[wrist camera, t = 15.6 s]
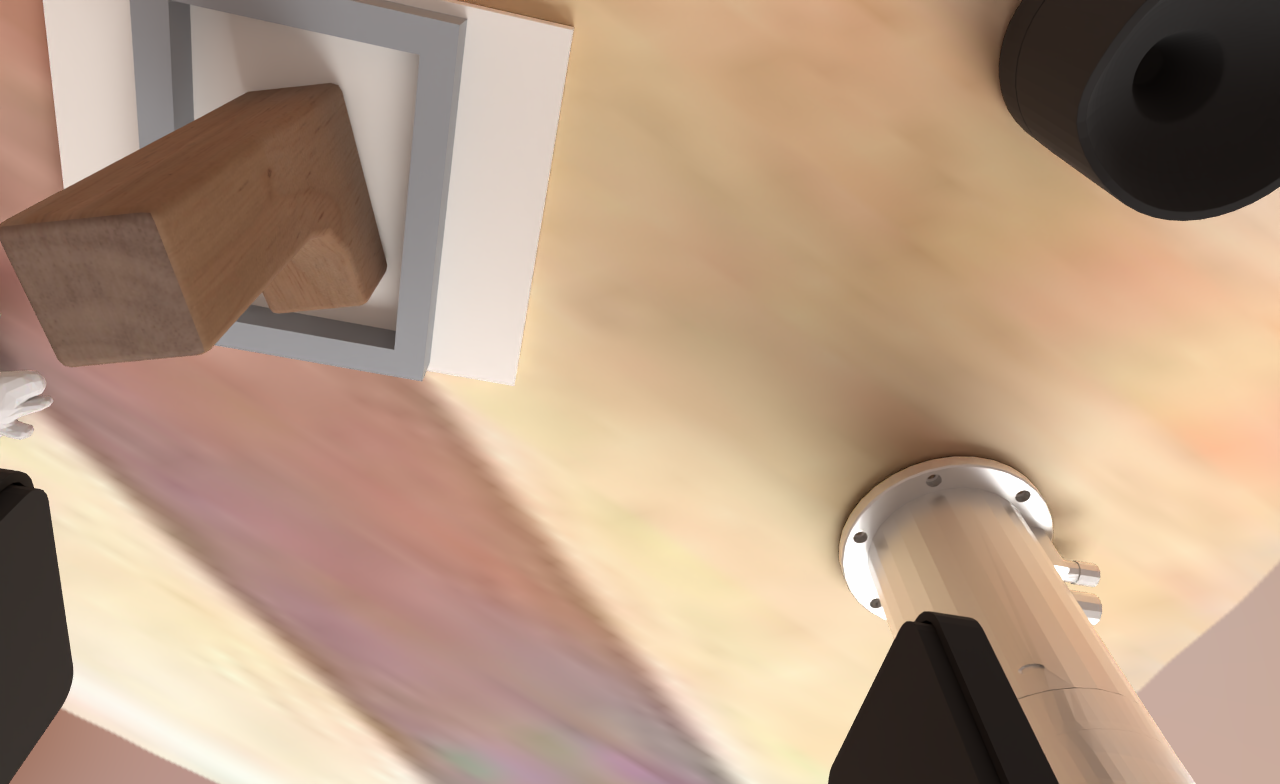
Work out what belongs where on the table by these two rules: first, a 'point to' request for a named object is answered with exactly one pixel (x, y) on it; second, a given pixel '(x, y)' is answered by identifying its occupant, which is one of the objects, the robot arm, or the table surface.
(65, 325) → the wooden block
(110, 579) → the table surface
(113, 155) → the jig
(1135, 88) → the pen holder
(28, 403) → the toy figure
